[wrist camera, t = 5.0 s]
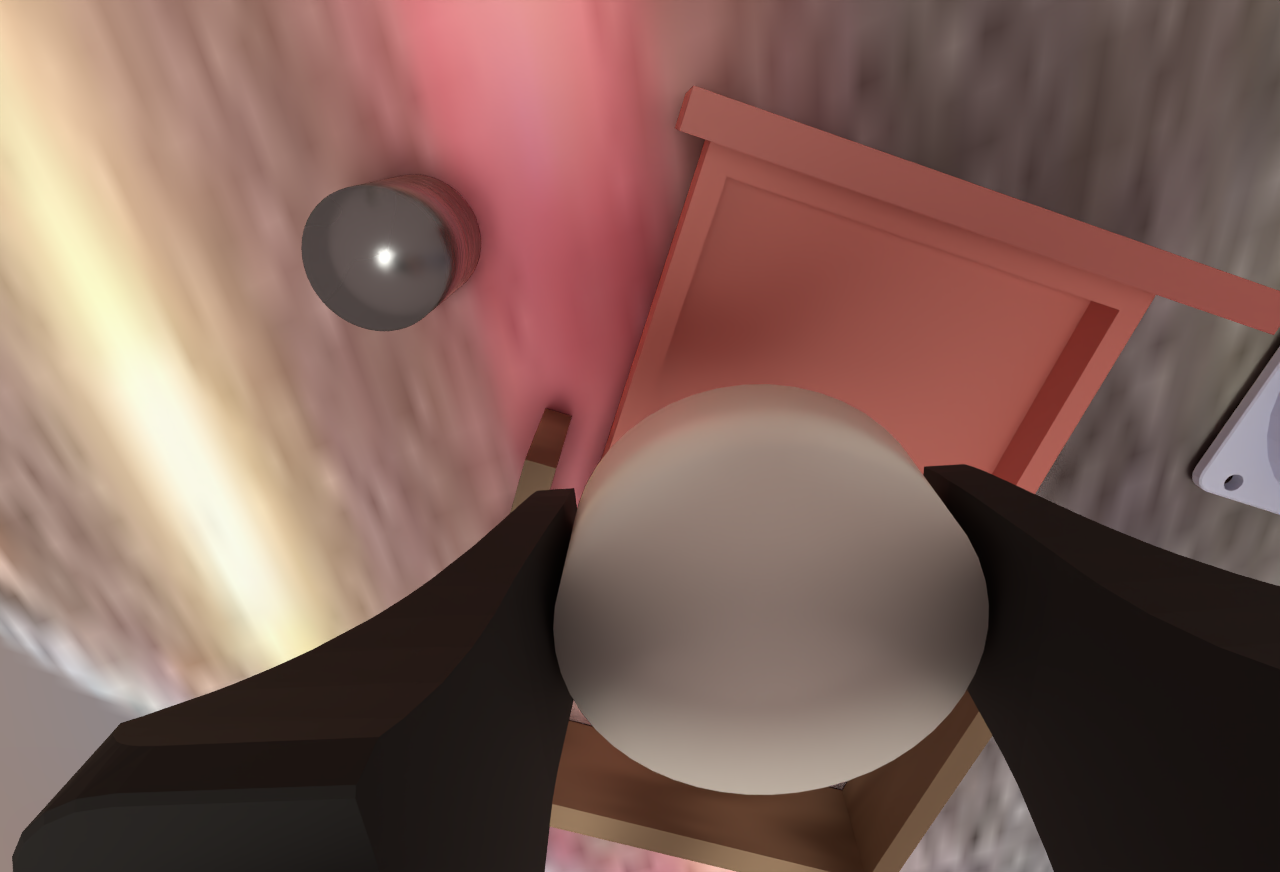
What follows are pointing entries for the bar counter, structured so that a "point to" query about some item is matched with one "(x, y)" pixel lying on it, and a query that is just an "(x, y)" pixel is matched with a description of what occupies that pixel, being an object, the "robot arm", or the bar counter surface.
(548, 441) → the cabinet
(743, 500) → the white dome
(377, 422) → the bar counter surface
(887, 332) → the drawer
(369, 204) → the cylinder
